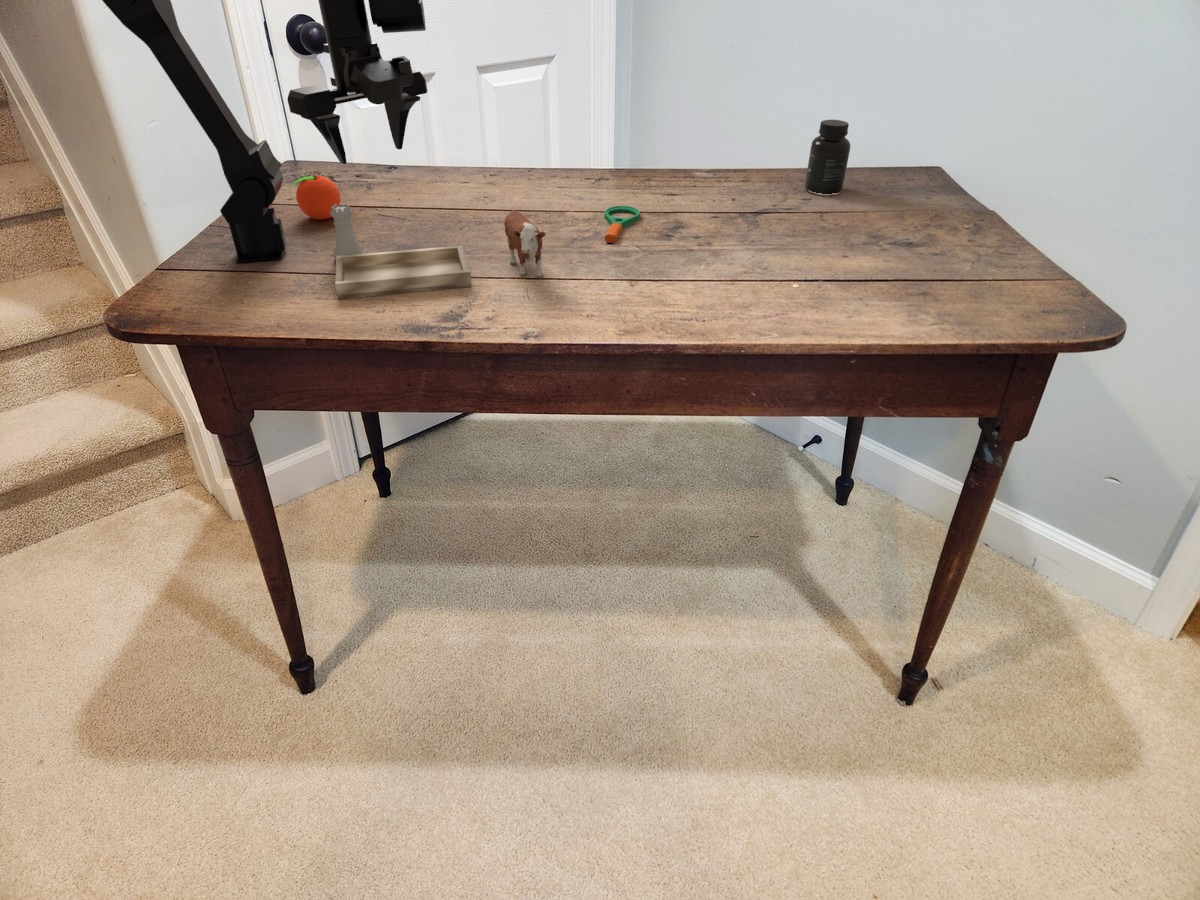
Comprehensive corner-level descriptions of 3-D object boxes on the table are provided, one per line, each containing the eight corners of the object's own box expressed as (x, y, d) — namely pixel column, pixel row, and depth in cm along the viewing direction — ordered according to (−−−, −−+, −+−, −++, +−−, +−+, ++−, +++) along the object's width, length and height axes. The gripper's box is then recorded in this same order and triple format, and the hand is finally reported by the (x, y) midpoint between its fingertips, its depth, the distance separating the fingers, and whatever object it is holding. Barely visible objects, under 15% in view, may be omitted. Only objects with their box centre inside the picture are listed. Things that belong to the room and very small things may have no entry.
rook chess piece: (360, 265, 117) (351, 211, 112) (330, 264, 117) (319, 211, 112) (368, 253, 120) (359, 201, 115) (339, 253, 120) (329, 200, 116)
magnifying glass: (608, 211, 138) (608, 201, 137) (642, 214, 137) (642, 204, 136) (591, 243, 126) (591, 233, 125) (629, 246, 125) (629, 236, 124)
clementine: (293, 228, 129) (284, 184, 124) (294, 213, 134) (285, 171, 130) (344, 223, 130) (336, 180, 126) (343, 209, 136) (335, 167, 132)
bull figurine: (520, 290, 110) (517, 233, 105) (503, 254, 120) (500, 201, 116) (551, 287, 111) (549, 231, 106) (531, 252, 121) (529, 199, 117)
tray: (338, 299, 107) (335, 284, 106) (339, 270, 115) (336, 255, 114) (471, 286, 111) (470, 271, 109) (463, 259, 119) (462, 245, 117)
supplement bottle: (800, 184, 150) (811, 117, 143) (837, 185, 150) (849, 118, 143) (808, 196, 144) (819, 127, 137) (845, 196, 144) (859, 127, 137)
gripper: (314, 52, 95) (343, 183, 104) (441, 30, 105) (457, 151, 114) (271, 43, 101) (302, 167, 110) (395, 23, 112) (414, 138, 121)
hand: (372, 156), depth 114 cm, fingers open, 9 cm apart
